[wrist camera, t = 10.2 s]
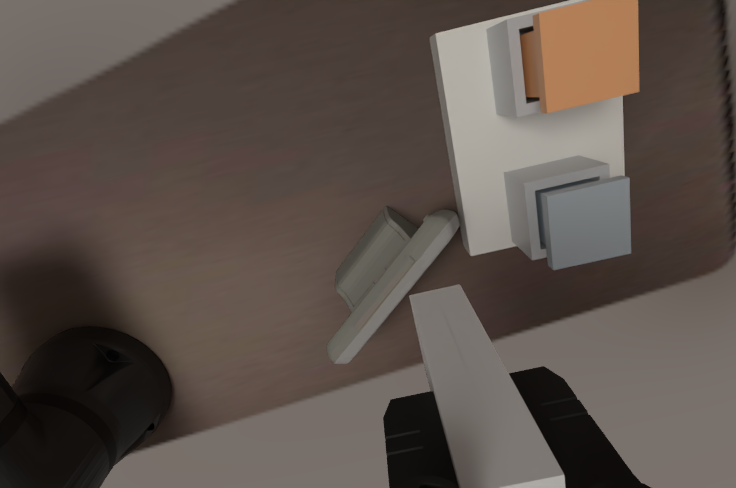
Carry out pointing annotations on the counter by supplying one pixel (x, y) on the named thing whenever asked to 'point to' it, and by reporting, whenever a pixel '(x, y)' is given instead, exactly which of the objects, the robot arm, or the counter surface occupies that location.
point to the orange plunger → (582, 54)
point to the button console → (513, 134)
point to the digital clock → (385, 273)
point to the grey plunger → (584, 221)
